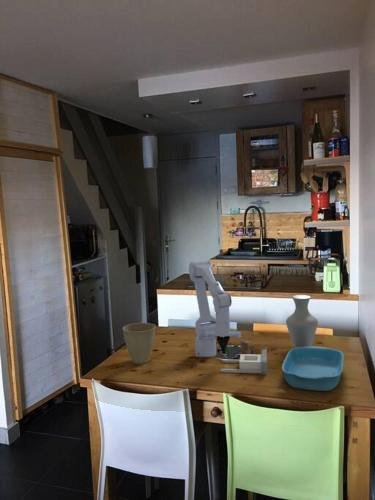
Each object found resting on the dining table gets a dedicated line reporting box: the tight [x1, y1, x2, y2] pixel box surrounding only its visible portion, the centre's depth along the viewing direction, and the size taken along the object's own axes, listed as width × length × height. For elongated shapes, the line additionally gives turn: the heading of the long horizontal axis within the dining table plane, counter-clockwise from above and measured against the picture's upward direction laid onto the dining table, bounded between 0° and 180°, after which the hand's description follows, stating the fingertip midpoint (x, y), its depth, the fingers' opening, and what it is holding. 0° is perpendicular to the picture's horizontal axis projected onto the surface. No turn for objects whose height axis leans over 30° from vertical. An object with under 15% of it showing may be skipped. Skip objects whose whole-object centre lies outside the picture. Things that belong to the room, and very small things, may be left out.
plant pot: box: [122, 322, 157, 365], centre depth 199 cm, size 15×15×16 cm
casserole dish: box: [281, 345, 345, 392], centre depth 173 cm, size 37×22×7 cm, turn 159°
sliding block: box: [238, 353, 262, 370], centre depth 183 cm, size 9×9×4 cm
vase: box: [285, 294, 319, 348], centre depth 205 cm, size 14×14×25 cm
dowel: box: [240, 340, 251, 355], centre depth 198 cm, size 4×4×7 cm
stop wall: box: [261, 348, 268, 376], centre depth 182 cm, size 2×15×6 cm, turn 169°
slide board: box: [220, 358, 262, 374], centre depth 184 cm, size 20×16×2 cm
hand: (223, 353), depth 185 cm, fingers closed
